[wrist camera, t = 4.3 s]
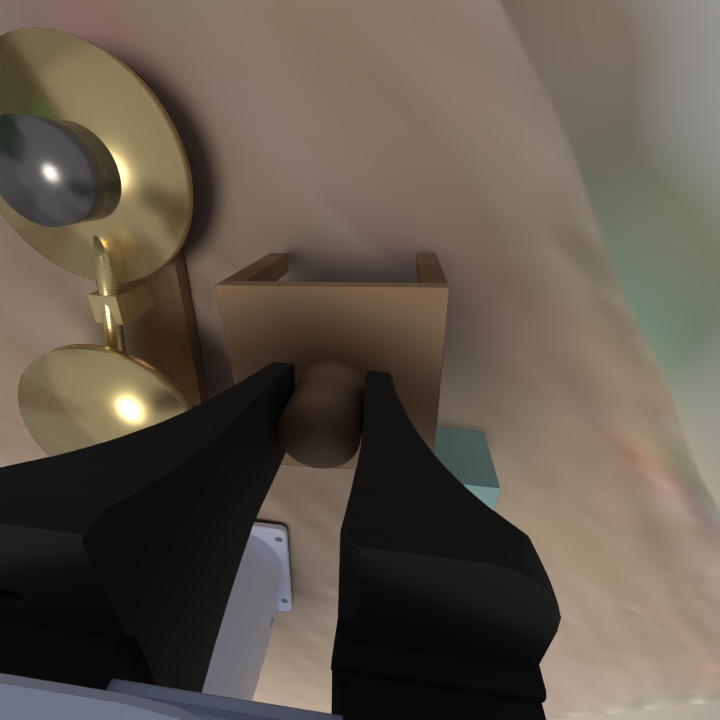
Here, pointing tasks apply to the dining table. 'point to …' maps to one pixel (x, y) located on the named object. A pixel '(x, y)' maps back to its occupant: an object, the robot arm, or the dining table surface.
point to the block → (468, 461)
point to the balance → (100, 236)
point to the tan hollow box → (337, 350)
